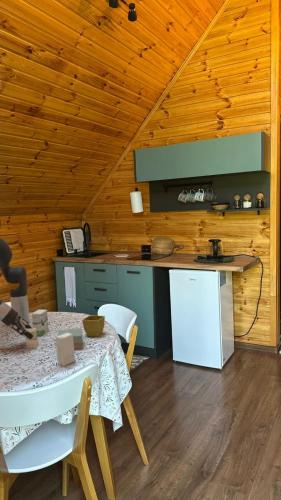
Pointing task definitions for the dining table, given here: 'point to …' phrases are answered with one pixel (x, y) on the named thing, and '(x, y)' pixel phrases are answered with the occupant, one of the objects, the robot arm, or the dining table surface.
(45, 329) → the ink box
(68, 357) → the skincare box
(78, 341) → the tower top slab
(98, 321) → the flower pot
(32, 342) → the maple block
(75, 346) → the tower base slab
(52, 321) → the dining table surface
